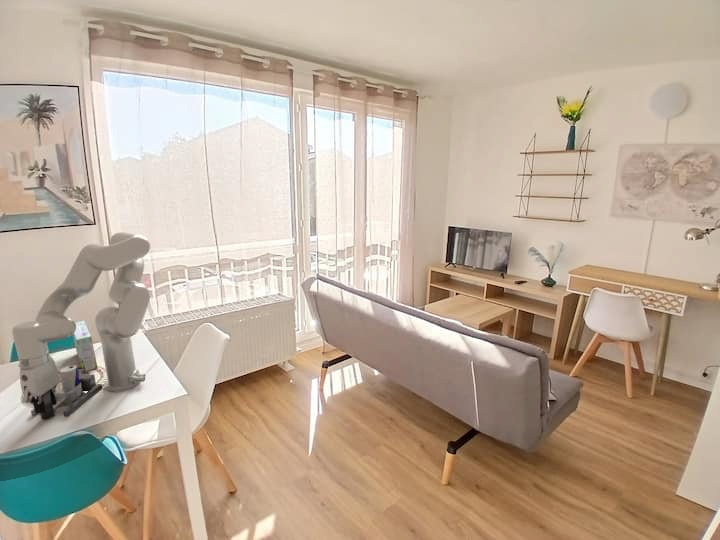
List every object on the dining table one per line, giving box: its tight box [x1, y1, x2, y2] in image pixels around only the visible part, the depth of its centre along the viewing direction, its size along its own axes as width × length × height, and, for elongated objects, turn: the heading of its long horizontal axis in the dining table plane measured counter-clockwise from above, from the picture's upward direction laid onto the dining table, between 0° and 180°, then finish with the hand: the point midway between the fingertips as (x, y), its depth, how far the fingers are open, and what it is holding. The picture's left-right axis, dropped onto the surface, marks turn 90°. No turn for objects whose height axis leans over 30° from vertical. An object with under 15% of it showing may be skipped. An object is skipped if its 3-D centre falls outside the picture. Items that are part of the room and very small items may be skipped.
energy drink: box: [58, 364, 84, 399], centre depth 137 cm, size 5×5×12 cm
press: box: [30, 373, 103, 418], centre depth 136 cm, size 12×17×6 cm
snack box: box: [72, 320, 99, 373], centre depth 163 cm, size 21×6×15 cm, turn 42°
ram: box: [35, 388, 78, 421], centre depth 129 cm, size 8×10×10 cm
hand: (46, 408), depth 127 cm, fingers closed on ram, 3 cm apart
